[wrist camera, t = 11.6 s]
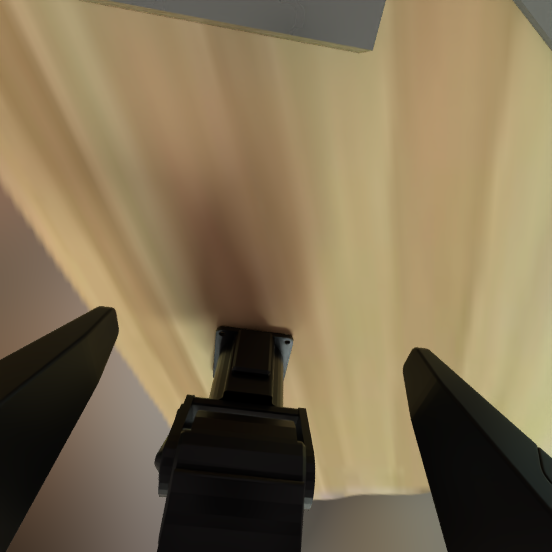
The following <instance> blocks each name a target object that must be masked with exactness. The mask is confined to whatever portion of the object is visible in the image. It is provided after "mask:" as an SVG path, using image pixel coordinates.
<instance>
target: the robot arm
mask: <svg viewBox="0 0 552 552" xmlns="http://www.w3.org/2000/svg"><path fill="white" fill-rule="evenodd" d="M118 332H119V327H118V321H117V315H116V310H115V309H114V308H112V307H104V306H99V307H97V308H95V309H93V310H91V311H89V312H87V313H86V314H84V315H82V316H80V317H78V318H76V319H75V320H73V321H71V322H69V323H67V324H66V325H63V326H62V327H60V328H58V329H56V330H54V331H52V332H51V333H49V334H47V335H45V336H43V337H41V338H40V339H38V340H36V341H34V342H32V343H30V344H29V345H27V346H25V347H23V348H21V349H19V350H17V351H16V352H14V353H12V354H10V355H8V356H6V357H5V358H3V359H1V360H0V552H6V550H7V548H8V547H9V545H10V543H11V541H12V539H13V538H14V536H15V534H16V532H17V530H18V528H19V527H20V525H21V523H22V521H23V519H24V518H25V516H26V514H27V512H28V510H29V508H30V507H31V505H32V503H33V501H34V499H35V497H36V496H37V494H38V492H39V490H40V488H41V487H42V485H43V483H44V481H45V479H46V477H47V476H48V474H49V472H50V470H51V468H52V467H53V465H54V463H55V461H56V459H57V458H58V456H59V454H60V452H61V450H62V448H63V446H64V445H65V443H66V441H67V439H68V438H69V436H70V434H71V432H72V430H73V428H74V427H75V425H76V423H77V421H78V419H79V417H80V416H81V414H82V412H83V410H84V408H85V407H86V405H87V403H88V401H89V399H90V397H91V396H92V394H93V392H94V390H95V388H96V386H97V384H98V382H99V380H100V378H101V375H102V373H103V371H104V368H105V366H106V363H107V361H108V358H109V356H110V354H111V351H112V348H113V346H114V344H115V341H116V339H117V336H118ZM221 332H224V333H221ZM286 340H289V341H286ZM292 345H293V337H292V336H290V335H286V334H278V333H271V332H263V331H256V330H248V329H240V328H233V327H225V326H220V327H218V328H217V331H216V339H215V354H214V369H213V378H214V380H213V384H212V388H211V392H210V397H209V398H201V397H195V395H187V396H186V399H185V401H184V404H181V406H180V409H178V411H177V414H176V417H175V420H174V423H173V425H172V428H171V430H170V433H169V435H168V437H167V438H166V440H165V442H164V443H163V445H162V446H161V448H160V450H159V452H158V453H157V455H156V458H155V466H156V468H157V470H158V472H159V487H158V494H159V497H167V498H166V503H165V508H164V513H163V518H162V523H161V528H160V533H159V541H158V549H157V552H301V540H302V526H303V512H304V511H309V510H310V508H311V505H312V501H313V495H314V486H315V458H314V450H313V445H312V439H311V434H310V428H309V423H308V418H307V412H306V408H298V409H295V408H286V407H283V381H284V377H285V373H286V369H287V365H288V361H289V357H290V353H291V349H292ZM403 376H404V382H405V388H406V394H407V400H408V406H409V412H410V417H411V421H412V425H413V429H414V433H415V436H416V440H417V443H418V447H419V451H420V454H421V458H422V461H423V465H424V469H425V472H426V476H427V479H428V483H429V486H430V490H431V493H432V497H433V501H434V504H435V508H436V512H437V515H438V518H439V522H440V526H441V530H442V533H443V537H444V540H445V544H446V548H447V551H448V552H552V458H551V457H550V456H549V455H548V454H547V453H546V452H544V451H543V450H542V449H541V448H539V447H537V445H536V444H535V443H534V442H533V441H532V440H531V439H530V438H528V437H527V436H526V435H525V434H524V433H523V432H522V431H521V430H519V429H518V428H517V427H516V426H515V425H514V424H513V423H511V422H510V421H509V420H508V419H507V418H506V417H505V416H504V415H502V414H501V413H500V412H499V411H498V410H497V409H496V408H495V407H493V406H492V405H491V404H490V403H489V402H488V401H487V400H485V399H484V398H483V397H482V396H481V395H480V394H479V393H478V392H476V391H475V390H474V389H473V388H472V387H471V386H470V385H468V384H467V383H466V382H465V381H464V380H463V379H462V378H461V377H459V376H458V375H457V374H456V373H455V372H454V371H453V370H452V369H450V368H449V367H448V366H447V365H446V364H445V363H444V362H442V361H441V360H440V359H439V358H438V357H437V356H436V355H435V354H433V353H432V352H431V351H430V350H428V349H426V348H418V347H416V348H413V349H412V351H411V353H410V354H409V356H408V358H407V360H406V362H405V363H404V366H403Z"/></svg>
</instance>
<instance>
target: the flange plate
mask: <svg viewBox="0 0 552 552" xmlns="http://www.w3.org/2000/svg"><path fill="white" fill-rule="evenodd" d="M81 1H86V2H91V3H97V4H102V5H107V6H112V7H118V8H123V9H128V10H134V11H139V12H144V13H150V14H155V15H160V16H165V17H171V18H176V19H181V20H187V21H192V22H197V23H203V24H208V25H213V26H219V27H224V28H229V29H234V30H240V31H245V32H250V33H256V34H261V35H266V36H272V37H277V38H282V39H288V40H293V41H298V42H303V43H309V44H314V45H319V46H325V47H330V48H335V49H341V50H346V51H351V52H357V53H362V52H368V51H373V47H374V43H375V40H376V36H377V32H378V28H379V24H380V21H381V17H382V13H383V9H384V5H385V1H386V0H81Z"/></svg>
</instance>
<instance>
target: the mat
mask: <svg viewBox="0 0 552 552" xmlns="http://www.w3.org/2000/svg"><path fill="white" fill-rule="evenodd" d="M513 1H514V2H515V4H516V5H517V6H518V8H519V9H520V10H521V11H522V13H523V14H524V15H525V17H526V18H527V19H528V20H529V22H530V23H531V24H532V26H533V27H534V28H535V30H536V31H537V32H538V33H539V35H540V36H541V37H542V39H543V40H544V41H545V42H546V44H547V45H548V46H549V48H550V49H551V50H552V0H513Z"/></svg>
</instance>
